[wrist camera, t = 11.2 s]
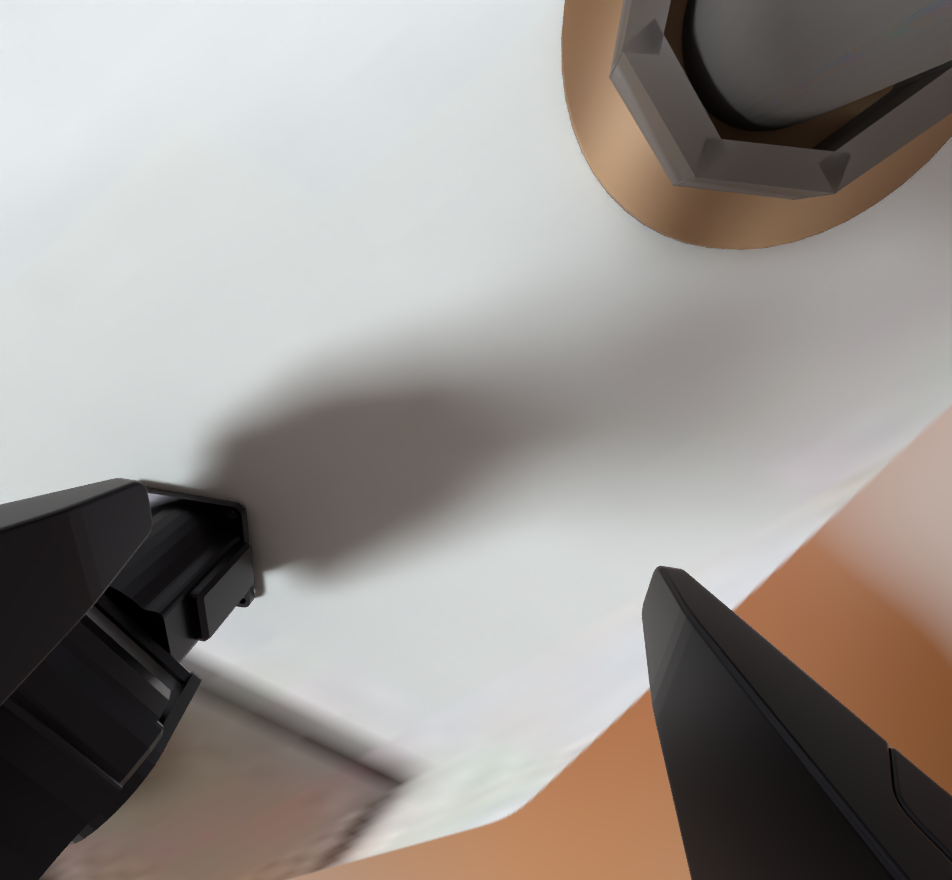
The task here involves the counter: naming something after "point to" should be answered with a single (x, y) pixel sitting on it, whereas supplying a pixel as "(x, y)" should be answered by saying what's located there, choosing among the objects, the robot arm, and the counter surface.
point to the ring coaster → (730, 137)
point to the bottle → (806, 54)
